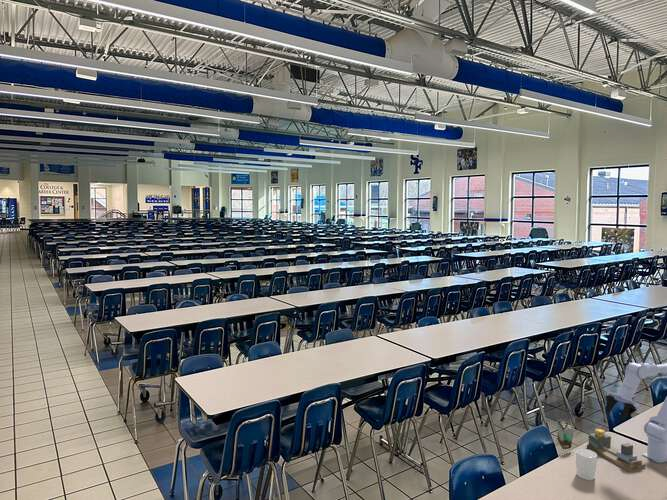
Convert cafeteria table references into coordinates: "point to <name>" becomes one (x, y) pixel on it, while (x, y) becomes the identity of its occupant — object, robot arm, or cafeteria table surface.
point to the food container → (565, 434)
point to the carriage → (626, 453)
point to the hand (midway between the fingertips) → (614, 416)
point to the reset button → (599, 432)
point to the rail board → (611, 452)
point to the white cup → (586, 463)
